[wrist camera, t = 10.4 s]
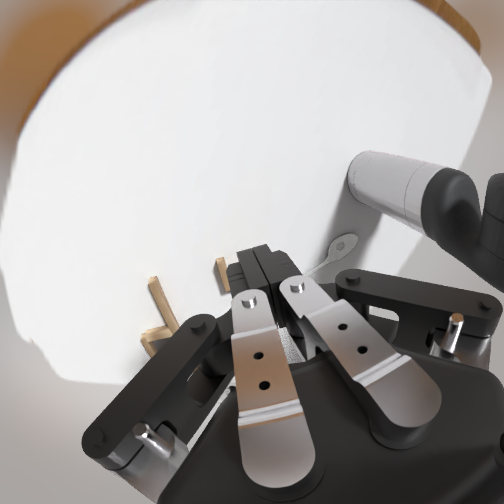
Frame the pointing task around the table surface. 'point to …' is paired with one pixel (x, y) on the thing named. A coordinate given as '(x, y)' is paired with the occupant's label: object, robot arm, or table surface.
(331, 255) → the spoon
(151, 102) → the table surface
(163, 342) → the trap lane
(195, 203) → the table surface
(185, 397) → the robot arm
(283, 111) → the table surface
